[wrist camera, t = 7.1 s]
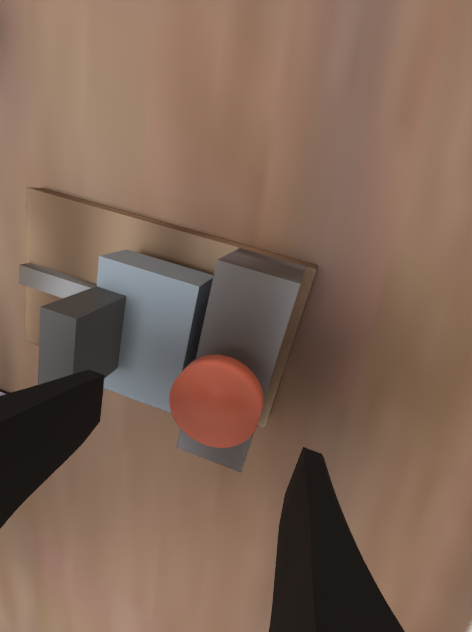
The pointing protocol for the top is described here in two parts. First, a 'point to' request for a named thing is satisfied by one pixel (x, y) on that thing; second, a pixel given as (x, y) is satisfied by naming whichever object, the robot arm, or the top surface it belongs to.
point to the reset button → (217, 401)
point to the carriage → (128, 326)
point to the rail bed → (182, 249)
